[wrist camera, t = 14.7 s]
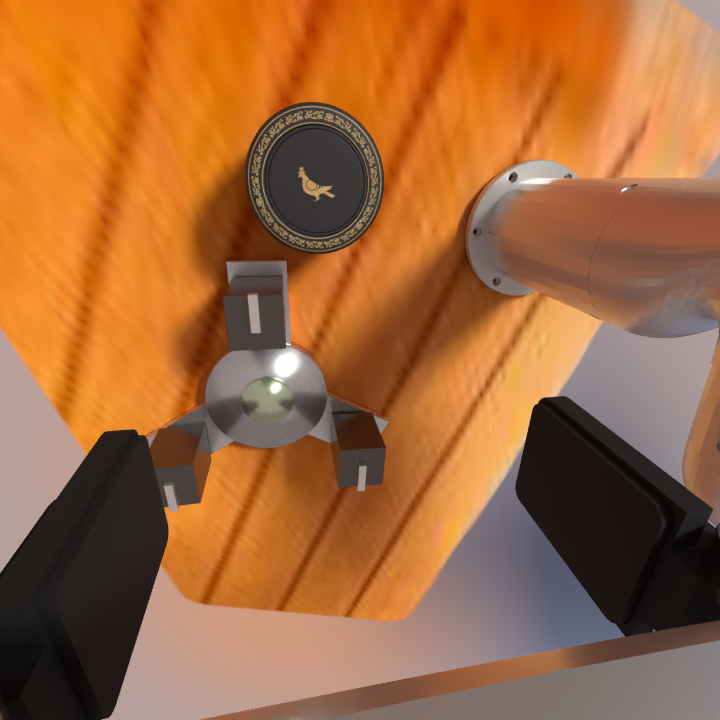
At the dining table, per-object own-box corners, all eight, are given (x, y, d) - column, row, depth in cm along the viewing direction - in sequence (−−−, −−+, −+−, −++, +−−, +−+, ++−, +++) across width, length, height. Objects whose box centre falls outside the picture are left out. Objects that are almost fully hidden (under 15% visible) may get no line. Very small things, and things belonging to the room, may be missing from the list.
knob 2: (285, 322, 38) (286, 350, 32) (237, 324, 37) (228, 353, 31) (282, 274, 36) (282, 294, 30) (232, 275, 35) (221, 295, 29)
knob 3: (332, 414, 43) (340, 453, 37) (372, 412, 44) (387, 450, 38) (331, 449, 45) (338, 492, 39) (369, 447, 46) (383, 489, 40)
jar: (356, 250, 38) (372, 266, 31) (246, 232, 35) (237, 245, 29) (376, 130, 34) (400, 118, 27) (255, 102, 32) (248, 81, 25)
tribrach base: (395, 257, 39) (403, 263, 36) (385, 449, 48) (390, 463, 46) (101, 261, 34) (88, 267, 32) (152, 471, 44) (145, 487, 41)
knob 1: (159, 428, 40) (136, 474, 34) (205, 424, 41) (191, 468, 35) (168, 465, 42) (148, 514, 36) (211, 460, 43) (199, 508, 37)
